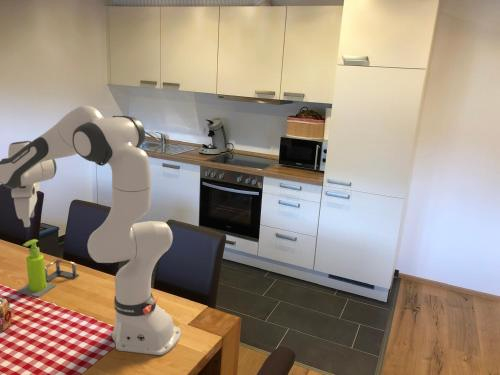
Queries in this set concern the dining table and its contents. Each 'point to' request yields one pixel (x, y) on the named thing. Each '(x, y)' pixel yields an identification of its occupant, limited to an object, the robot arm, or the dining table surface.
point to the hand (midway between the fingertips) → (29, 221)
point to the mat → (27, 291)
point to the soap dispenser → (35, 267)
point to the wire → (61, 273)
